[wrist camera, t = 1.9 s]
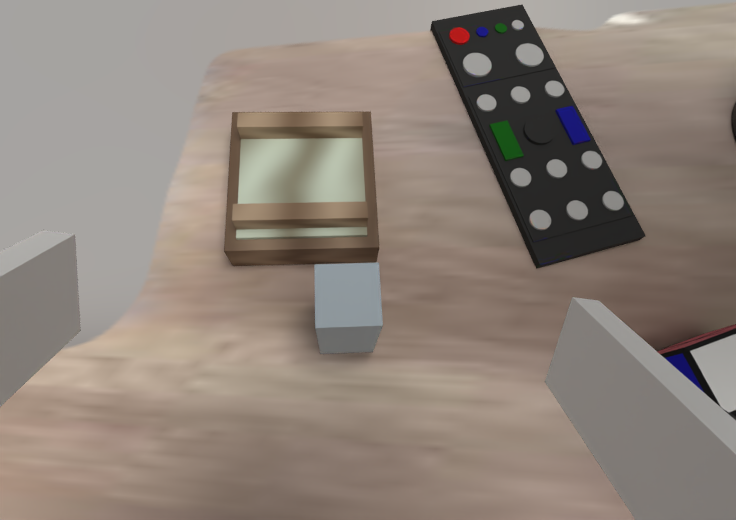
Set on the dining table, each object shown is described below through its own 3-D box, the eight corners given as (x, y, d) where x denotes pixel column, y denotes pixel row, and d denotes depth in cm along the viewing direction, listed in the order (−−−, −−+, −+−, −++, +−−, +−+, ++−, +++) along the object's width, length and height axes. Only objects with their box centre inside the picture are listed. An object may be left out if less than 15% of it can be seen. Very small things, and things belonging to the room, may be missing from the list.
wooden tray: (368, 134, 50) (372, 96, 44) (376, 262, 45) (381, 236, 39) (239, 135, 49) (227, 96, 43) (232, 265, 44) (218, 240, 38)
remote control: (517, 15, 58) (523, 0, 56) (636, 241, 48) (648, 233, 46) (429, 31, 56) (432, 17, 54) (534, 270, 46) (542, 263, 44)
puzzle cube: (607, 369, 43) (683, 347, 33) (702, 333, 44) (799, 304, 35) (667, 488, 39) (769, 501, 30) (766, 445, 41) (892, 445, 32)
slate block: (370, 301, 43) (378, 262, 34) (372, 351, 42) (382, 325, 33) (319, 303, 43) (314, 264, 34) (320, 354, 42) (315, 327, 32)
